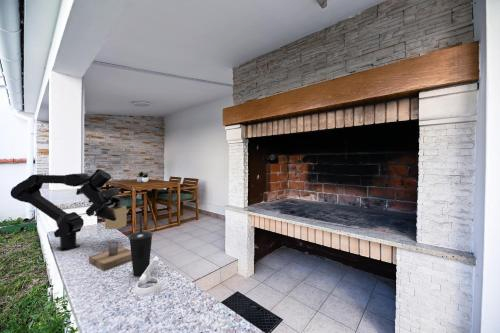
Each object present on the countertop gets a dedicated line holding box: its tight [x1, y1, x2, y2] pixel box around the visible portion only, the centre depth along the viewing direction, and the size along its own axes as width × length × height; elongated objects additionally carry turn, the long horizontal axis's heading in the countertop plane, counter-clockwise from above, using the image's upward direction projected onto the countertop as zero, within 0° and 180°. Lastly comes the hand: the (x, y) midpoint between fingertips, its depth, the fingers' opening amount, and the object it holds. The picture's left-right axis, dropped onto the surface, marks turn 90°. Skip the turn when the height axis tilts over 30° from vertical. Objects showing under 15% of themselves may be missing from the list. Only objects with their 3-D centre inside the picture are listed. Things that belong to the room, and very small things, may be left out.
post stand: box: [88, 242, 132, 272], centre depth 86 cm, size 12×12×6 cm
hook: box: [133, 255, 162, 296], centre depth 66 cm, size 8×12×7 cm
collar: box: [104, 205, 128, 230], centre depth 100 cm, size 6×6×9 cm
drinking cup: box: [128, 215, 154, 278], centre depth 75 cm, size 8×8×20 cm
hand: (119, 218), depth 100 cm, fingers closed on collar, 6 cm apart
